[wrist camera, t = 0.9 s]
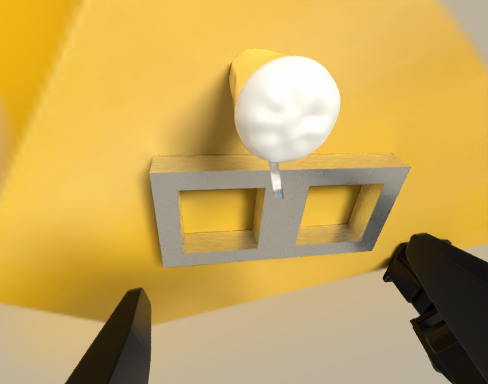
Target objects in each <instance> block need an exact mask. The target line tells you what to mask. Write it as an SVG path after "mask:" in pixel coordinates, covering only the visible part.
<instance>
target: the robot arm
mask: <svg viewBox="0 0 488 384" xmlns="http://www.w3.org/2000/svg"><path fill="white" fill-rule="evenodd" d="M383 280H384V282H393V283H394V284H395V285H396V287H397V288H398V290H399V291H400V292H401V294H402V295H403V297H404V298H405V299H406V301H407V302H408V303H412V305H413V306H414V308H415V309H416V310H417V312H418V313H419V314H420V316H419V317H418V318H414V319H412V320H410V322H411V324H412V325H413V329H414V331H415V333H416V335H417V336H418V338H419V340H420V342H421V343H422V345H423V347H424V349H425V351H426V352H427V354H428V357H429V359H430V362H431V364H432V366H433V368H434V369H435V370H436V371H437V372H439V373H441V374H443V375H444V376H445V377H446V378H447V379H448V380H449V381H450V382H451V383H452V384H488V262H486V261H484V260H482V259H480V258H478V257H475V256H473V255H471V254H469V253H467V252H465V251H463V250H461V249H459V248H457V247H455V246H453V245H451V242H450V241H449V240H440V239H438V238H436V237H434V236H432V235H430V234H427V233H419V234H414V235H412V236H411V238H410V241H409V243H403V244H401V245H400V247H399V248H398V250H397V252H396V254H395V256H394V258H393V260H392V261H391V263H390V265H389V267H388V269H387V271H386V272H385V274H384V276H383ZM150 361H151V304H150V301H149V299H148V297H147V295H146V293H145V291H144V289H143V288H135V289H130V290H128V291H127V292H126V294H125V295H124V297H123V298H122V300H121V301H120V303H119V304H118V306H117V307H116V309H115V310H114V312H113V313H112V315H111V316H110V318H109V319H108V320H107V322H106V323H105V325H104V326H103V328H102V330H101V331H100V332H99V334H98V335H97V337H96V338H95V340H94V341H93V343H92V344H91V346H90V347H89V349H88V350H87V352H86V353H85V354H84V356H83V357H82V359H81V360H80V362H79V363H78V365H77V367H76V368H75V369H74V371H73V372H72V374H71V375H70V377H69V378H68V380H67V381H66V383H65V384H148V379H149V371H150Z"/></svg>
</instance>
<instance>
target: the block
mask: <svg viewBox="0 0 488 384" xmlns="http://www.w3.org/2000/svg"><path fill="white" fill-rule="evenodd" d="M278 165H279V171H280V177H281V183H282V189H283V196H284V199H283V200H279V199H274V195H273V188H272V181H271V174H270V167H269V161H266V160H263V159H260V158H258V157H256V156H254V155H198V156H153V160H152V164H151V168H150V172H149V174H150V181H151V188H152V194H153V201H154V208H155V215H156V221H157V228H158V235H159V241H160V248H161V255H162V261H163V268H165V267H178V266H190V265H203V264H215V263H227V262H240V261H252V260H265V259H277V258H289V257H302V256H314V255H327V254H339V253H351V252H364V251H372V249H373V247H374V245H375V243H376V241H377V239H378V236H379V234H380V232H381V230H382V228H383V226H384V224H385V221H386V219H387V217H388V215H389V213H390V211H391V209H392V206H393V204H394V202H395V200H396V198H397V196H398V194H399V192H400V189H401V187H402V185H403V183H404V181H405V179H406V177H407V174H408V172H409V170H410V168H411V167H410V166H409V165H408V164H406V163H405V162H404V161H402V160H401V159H400V158H398V157H397V156H395V155H394V154H393V153H353V154H309V155H307V156H306V157H304V158H302V159H299V160H296V161H292V162H281V163H279V162H278ZM355 184H362V187H361V190H360V192H359V195H358V198H357V201H356V203H355V206H354V209H353V211H352V214H351V217H350V220H349V222H348V224H337V225H321V226H304V227H300V224H301V220H302V216H303V212H304V208H305V203H306V199H307V195H308V191H309V187H310V186H325V185H355ZM237 188H257V194H256V203H255V212H254V221H253V230H239V231H222V232H206V233H189V234H184V232H183V220H182V207H181V194H180V190H208V189H237Z"/></svg>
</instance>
